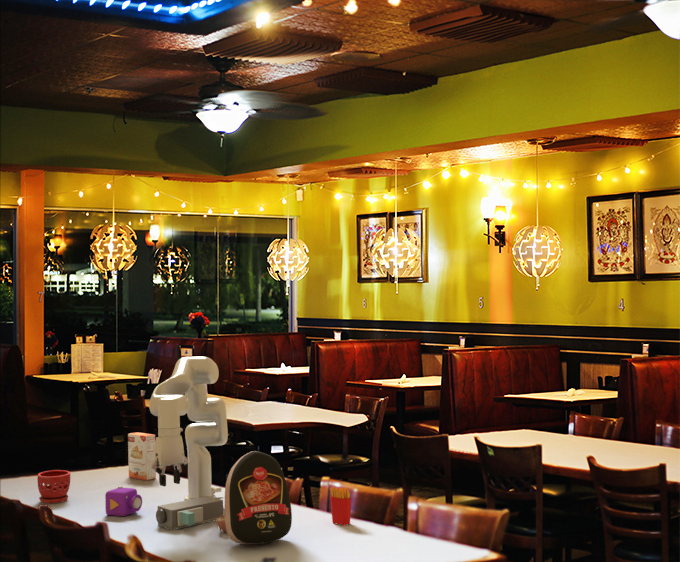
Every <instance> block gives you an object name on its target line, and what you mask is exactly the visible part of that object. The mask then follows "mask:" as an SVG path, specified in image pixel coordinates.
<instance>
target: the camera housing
mask: <svg viewBox="0 0 680 562" xmlns="http://www.w3.org/2000/svg"><path fill="white" fill-rule="evenodd" d="M198 507H203V521H202V522H197V523H194V524H193V525H183V526H178V522H177V512H178V511H183V510H188V509H193V508H198ZM223 515H224V499H220V498H216V497H215V498H213V497H209V496H207V497H202V498H197V499H191V500H186V501H185V500H182V501H178V502H172V503H166V504H161V505H157V510H156V512H155V519H156V521H157V526H160V527H161V528H162V527H163V528H165V529H168V530H171V531H174V530H178V529H183V528H187V527H188V528H189V527H192V526H193V527H194V526H196V525H197V526H198V525H201V524H206V523H211V522H215V521H216V518H218V517H220V516H223Z"/></svg>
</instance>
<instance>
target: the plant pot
mask: <svg viewBox="0 0 680 562" xmlns="http://www.w3.org/2000/svg"><path fill="white" fill-rule="evenodd" d="M43 484H44V485H43ZM70 486H71V471H68V470H64V469H63V470H61V469H52V470H46V471H42V472H39V473H38V474H37V488H38V493H39V495H40V496H39V501H40V502H41V503H43V504H60V503H63V502H66V501H67V500H68V499H69V494H68V492H69V490H70Z"/></svg>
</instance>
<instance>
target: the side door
mask: <svg viewBox="0 0 680 562" xmlns="http://www.w3.org/2000/svg"><path fill="white" fill-rule="evenodd" d="M202 521H203V507H198V508H193V509H188V510H183V511H178V512H177V522H178V526H183V525H193V524H194V523H197V522H202ZM193 526H194V525H193Z"/></svg>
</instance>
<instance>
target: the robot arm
mask: <svg viewBox="0 0 680 562" xmlns="http://www.w3.org/2000/svg"><path fill="white" fill-rule="evenodd" d="M173 368H174V369H173V371H172V374H171V376H170V377H169V378H168V379H165V380H164V381H163V382H161V383H159V384H158V385H157V386H156V387H155V388H154V390H153V392H152V393H151V397H150V399H149V400H150V401H149V407H148V408H149V411H150V414H152V415H153V416H155V417H157V429H158V430H157V431H158V432H157V435H158V437H157V436H155V447H154V461H153V462H152V464H151V466H150V467H151V468H153V469H154V470H155V471H156V474H158V476H159V477H158V479H159V480H158V482H159V486H161V487H166V486H167V475H166V473H165V472H166V468H167V467H169V466H173V468H174V471H173V483H174V484H176V485H180V483H181V473H182V472H183V471H182V470H183V469H184V467H185V466H186V465H187V481H188V483H187V484H188V485H187V487H188V488H187V494H188V495H186V496H185V497H184V501H186V500H191V499H197V498H202V497H207V496H209V497H213V498H216V495H215V494H216V493H221V492H222V490H223V489H222V487H221V486H218V487H215V486H212V457H211V454H210V451H208V449H207V448H206V447H219V446H223V445H225V444H227V442H228V437H229V436H228V435H229V433H228V431H229V429H228V420H227V419H228V418H227V408H226V407H227V406H226V403H225V401H224V400H223V399H222V398H219V397H208V396H207V386H206V385H211V384H215V383H216V382H217V381H218V379H219V376H220V375H219V373H220V372H219V367H218V365H217V363H216V362H215V361H214V360H213V359H212V358H210V357H208V356H184V357H181V358H179V359H178V360H177V361H176V363H175V366H174V367H173ZM184 394H185V395H184ZM186 414H187V418H188V420H189V421H192V422H195V423H190V424H188V425H187V426H186V428H185V431H184V429H183V427H181V426H180V425H181V416H185V415H186ZM183 431H184V435H185V436H184V438H185V444H186V450H187V457H186V456H185V449H184V442H183V437H182V435H181V432H183Z"/></svg>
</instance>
